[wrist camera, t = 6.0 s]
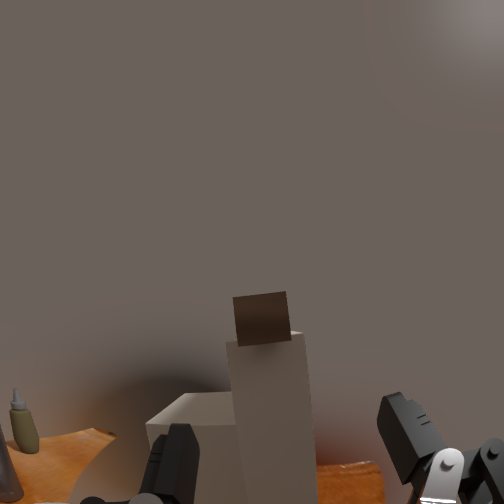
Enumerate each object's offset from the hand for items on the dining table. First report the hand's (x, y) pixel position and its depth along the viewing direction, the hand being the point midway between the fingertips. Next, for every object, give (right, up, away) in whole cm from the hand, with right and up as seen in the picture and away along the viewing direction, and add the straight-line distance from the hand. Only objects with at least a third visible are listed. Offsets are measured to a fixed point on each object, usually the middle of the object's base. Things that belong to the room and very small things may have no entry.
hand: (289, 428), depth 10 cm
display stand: (0, -34, +14) cm, 36 cm away
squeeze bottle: (-60, -45, +31) cm, 81 cm away
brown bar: (0, -2, +19) cm, 19 cm away
